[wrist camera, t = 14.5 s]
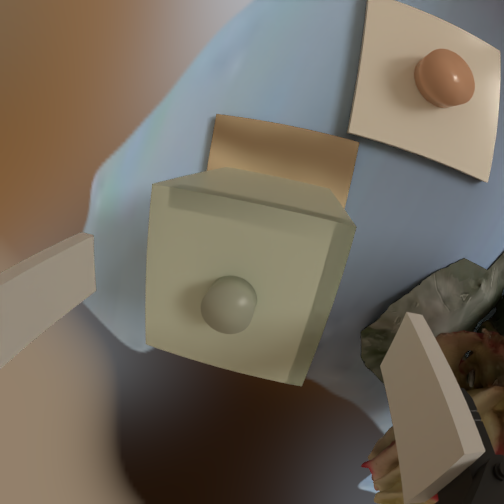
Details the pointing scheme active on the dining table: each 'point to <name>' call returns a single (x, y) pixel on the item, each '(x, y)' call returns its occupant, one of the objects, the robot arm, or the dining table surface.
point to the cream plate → (402, 100)
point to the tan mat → (284, 152)
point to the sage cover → (244, 270)
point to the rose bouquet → (446, 353)
